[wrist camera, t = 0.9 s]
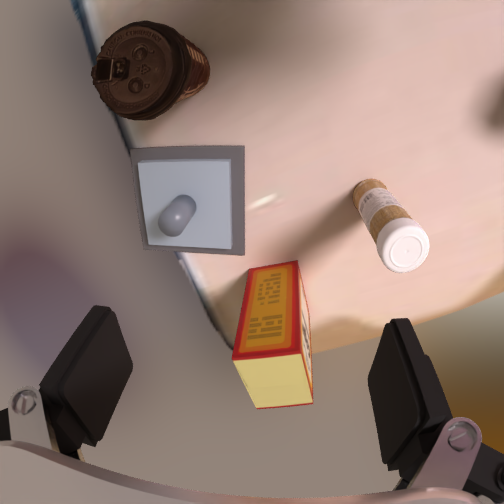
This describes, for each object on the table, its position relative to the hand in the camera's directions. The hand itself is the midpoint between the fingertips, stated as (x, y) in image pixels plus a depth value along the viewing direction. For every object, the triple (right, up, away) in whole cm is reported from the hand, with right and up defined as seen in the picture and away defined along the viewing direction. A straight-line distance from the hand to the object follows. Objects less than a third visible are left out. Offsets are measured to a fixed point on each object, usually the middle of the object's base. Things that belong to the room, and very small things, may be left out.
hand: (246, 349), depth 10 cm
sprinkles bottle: (+14, +10, +25) cm, 31 cm away
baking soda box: (+4, -2, +34) cm, 34 cm away
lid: (-8, +9, +28) cm, 30 cm away
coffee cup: (-8, +23, +20) cm, 32 cm away
